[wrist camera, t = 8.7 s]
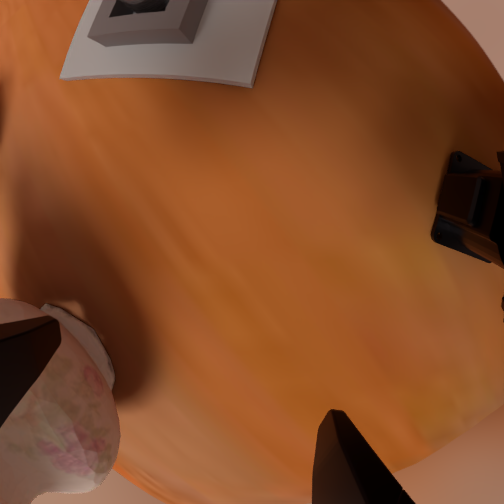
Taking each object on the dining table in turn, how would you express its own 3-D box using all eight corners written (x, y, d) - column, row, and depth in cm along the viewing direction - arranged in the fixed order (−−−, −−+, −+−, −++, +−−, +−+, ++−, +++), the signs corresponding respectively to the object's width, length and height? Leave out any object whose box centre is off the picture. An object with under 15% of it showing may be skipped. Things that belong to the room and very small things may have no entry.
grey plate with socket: (289, -38, 13) (287, -65, 9) (252, 88, 16) (243, 70, 13) (112, -28, 13) (93, -44, 10) (66, 80, 17) (39, 73, 14)
